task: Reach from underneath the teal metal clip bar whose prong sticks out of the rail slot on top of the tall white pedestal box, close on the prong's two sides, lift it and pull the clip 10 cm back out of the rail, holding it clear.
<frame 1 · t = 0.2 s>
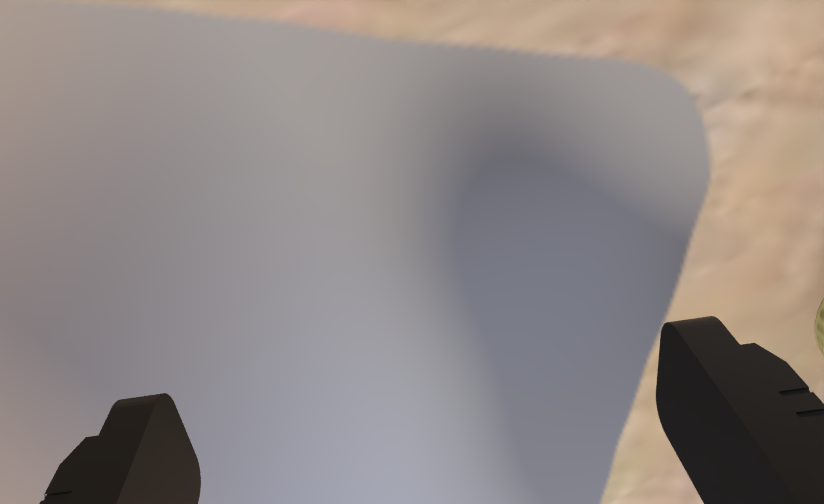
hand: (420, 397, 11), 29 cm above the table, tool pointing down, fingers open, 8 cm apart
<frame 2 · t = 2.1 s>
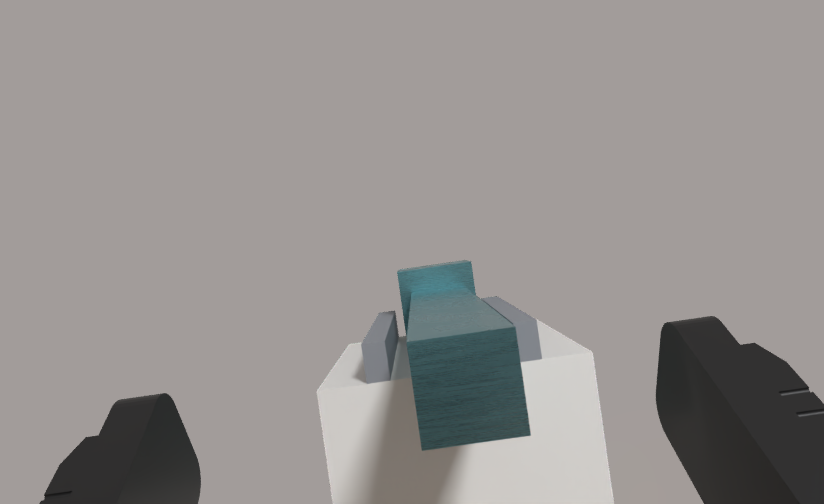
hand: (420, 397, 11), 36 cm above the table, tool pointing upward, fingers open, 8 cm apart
clip: (452, 364, 35), point 32 cm above the table, touching tall white pedestal box
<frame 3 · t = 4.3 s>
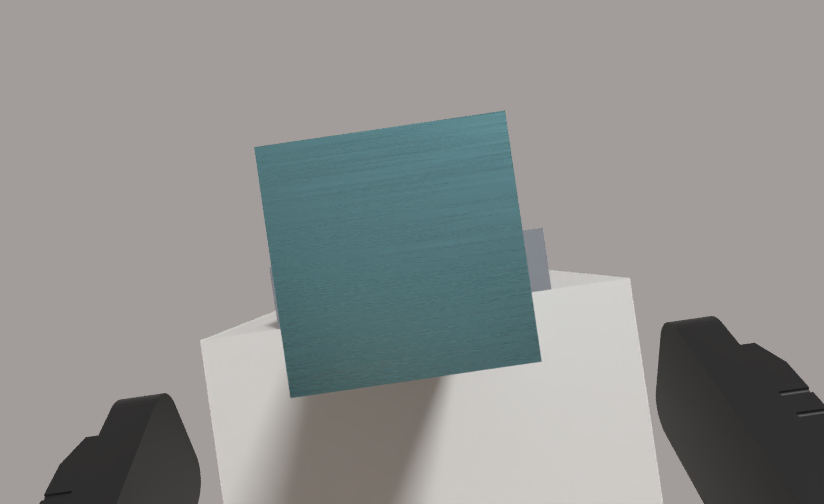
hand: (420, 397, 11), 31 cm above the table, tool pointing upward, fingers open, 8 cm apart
clip: (414, 304, 23), point 32 cm above the table, touching tall white pedestal box
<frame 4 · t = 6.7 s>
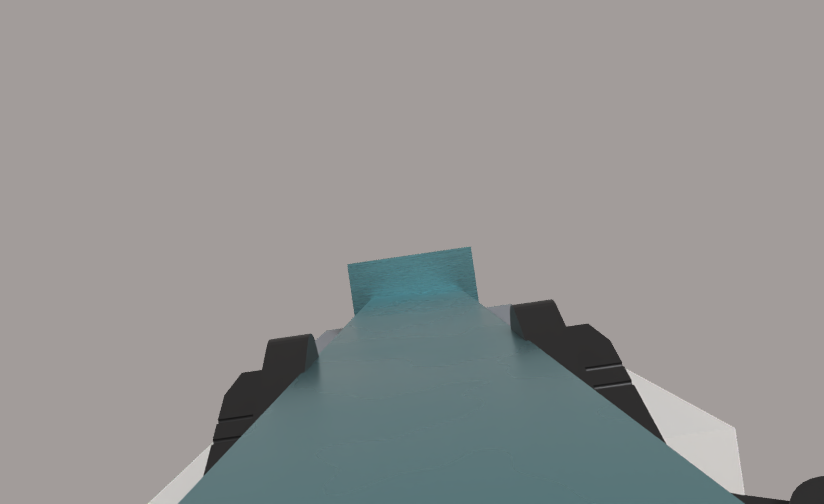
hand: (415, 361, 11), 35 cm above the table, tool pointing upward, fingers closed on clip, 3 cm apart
clip: (433, 445, 17), point 32 cm above the table, touching gripper, tall white pedestal box
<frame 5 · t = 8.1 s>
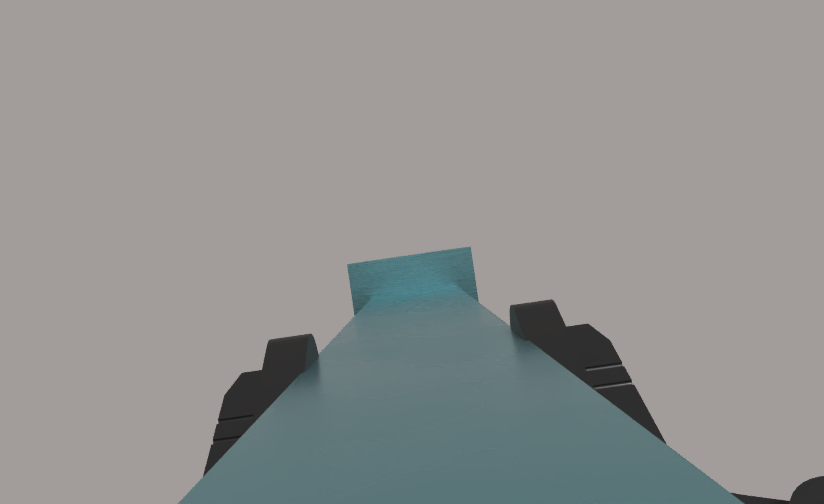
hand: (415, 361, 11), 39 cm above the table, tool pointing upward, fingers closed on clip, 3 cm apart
clip: (433, 445, 17), point 36 cm above the table, touching gripper
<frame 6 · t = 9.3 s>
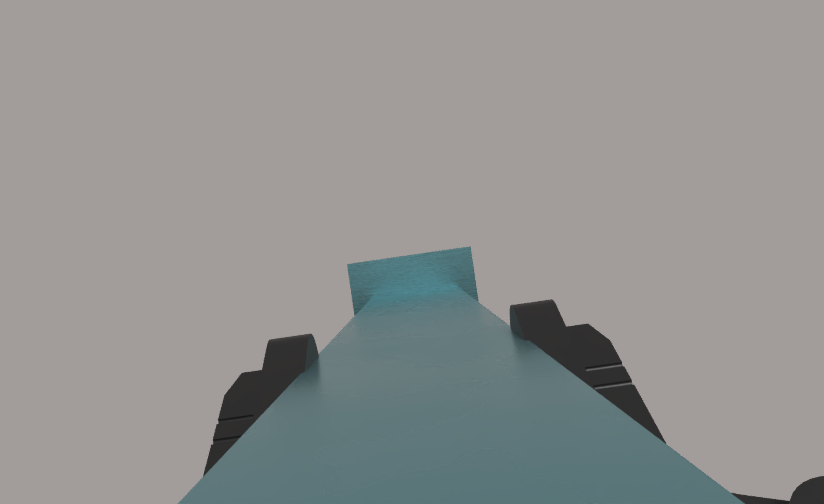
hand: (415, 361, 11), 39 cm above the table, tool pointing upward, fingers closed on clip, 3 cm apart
clip: (433, 444, 17), point 36 cm above the table, touching gripper
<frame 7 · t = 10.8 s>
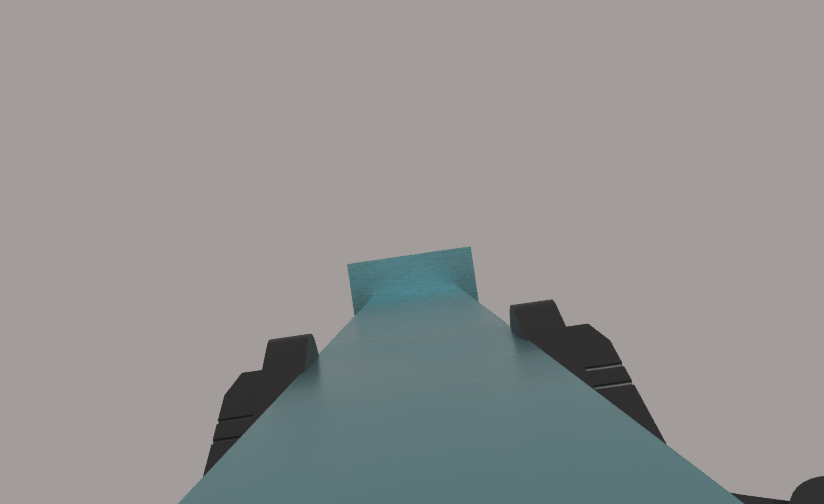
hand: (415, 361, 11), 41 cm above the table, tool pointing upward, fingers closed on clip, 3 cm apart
clip: (433, 445, 17), point 38 cm above the table, touching gripper
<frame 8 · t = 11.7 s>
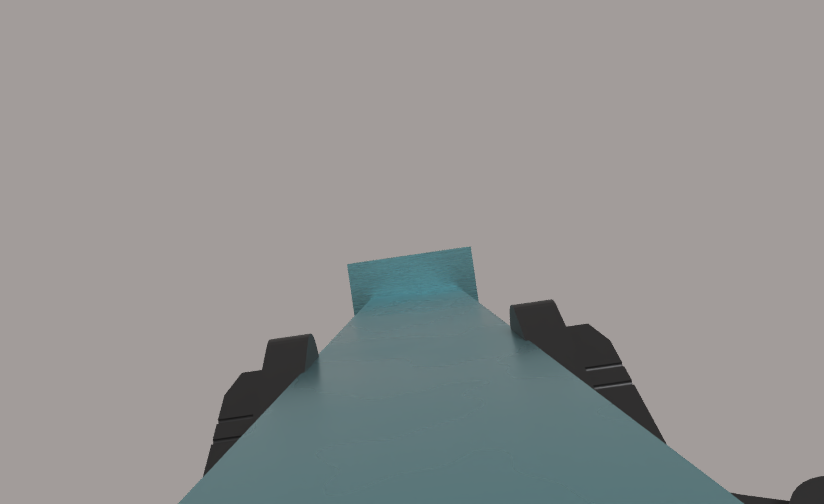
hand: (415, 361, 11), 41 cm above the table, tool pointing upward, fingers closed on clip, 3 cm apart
clip: (433, 445, 17), point 38 cm above the table, touching gripper
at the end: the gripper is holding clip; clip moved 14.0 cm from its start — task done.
